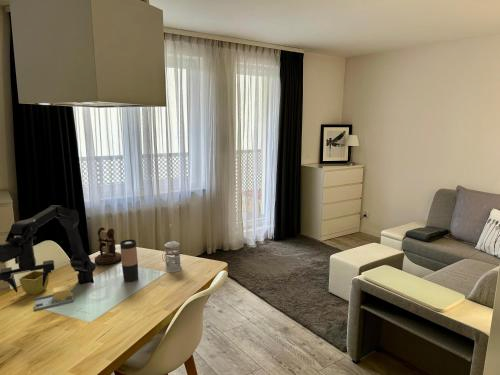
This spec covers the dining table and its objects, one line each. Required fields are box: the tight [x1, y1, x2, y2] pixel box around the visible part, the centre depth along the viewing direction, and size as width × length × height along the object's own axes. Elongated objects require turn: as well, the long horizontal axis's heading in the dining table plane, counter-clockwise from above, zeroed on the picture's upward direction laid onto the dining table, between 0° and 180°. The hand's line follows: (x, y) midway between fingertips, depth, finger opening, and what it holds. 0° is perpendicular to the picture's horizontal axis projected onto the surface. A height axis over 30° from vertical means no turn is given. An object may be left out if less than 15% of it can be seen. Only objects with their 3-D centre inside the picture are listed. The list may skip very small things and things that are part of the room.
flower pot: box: [18, 270, 50, 296], centre depth 163 cm, size 9×9×9 cm
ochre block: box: [52, 284, 72, 300], centre depth 158 cm, size 7×5×4 cm
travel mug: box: [119, 239, 139, 283], centre depth 176 cm, size 8×8×20 cm
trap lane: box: [34, 289, 75, 311], centre depth 156 cm, size 15×11×1 cm
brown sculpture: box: [94, 227, 121, 266], centre depth 200 cm, size 15×15×20 cm
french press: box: [161, 224, 183, 273], centre depth 187 cm, size 10×12×25 cm
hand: (30, 289), depth 142 cm, fingers open, 9 cm apart
